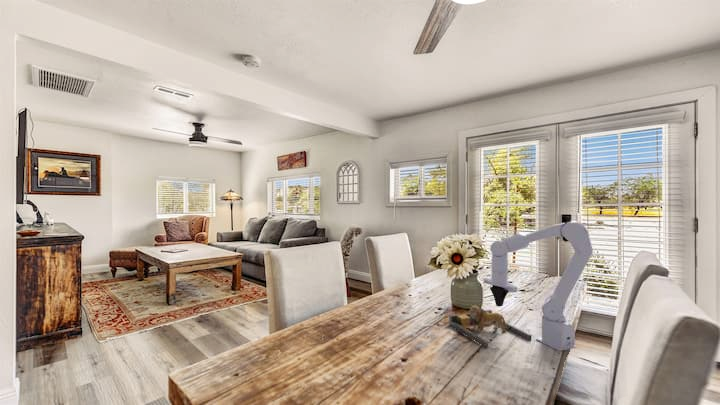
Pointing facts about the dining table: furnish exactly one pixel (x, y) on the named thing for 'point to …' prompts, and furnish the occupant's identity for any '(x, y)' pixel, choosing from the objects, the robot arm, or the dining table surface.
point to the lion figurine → (487, 318)
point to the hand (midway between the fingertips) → (499, 305)
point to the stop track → (465, 319)
